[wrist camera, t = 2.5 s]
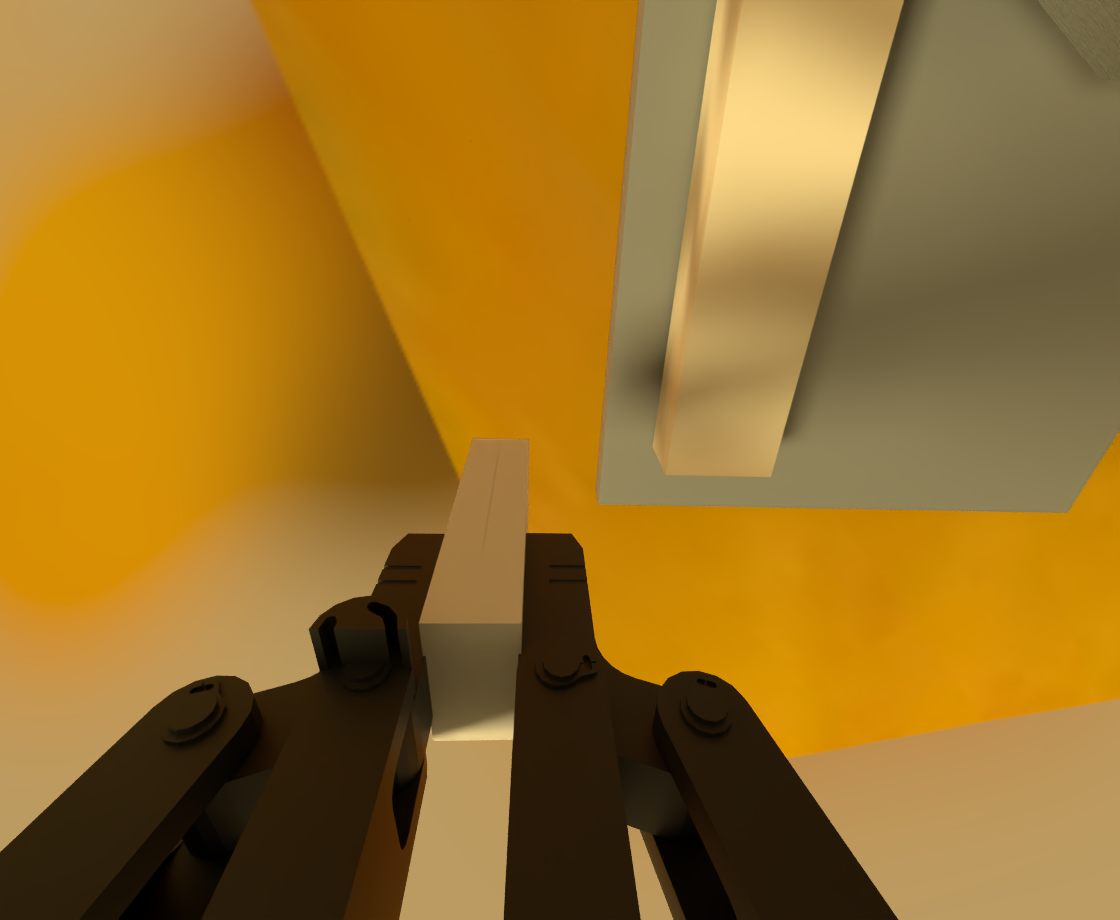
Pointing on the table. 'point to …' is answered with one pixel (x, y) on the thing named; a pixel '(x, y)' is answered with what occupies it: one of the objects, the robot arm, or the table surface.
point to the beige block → (1090, 31)
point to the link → (763, 220)
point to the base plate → (904, 276)
